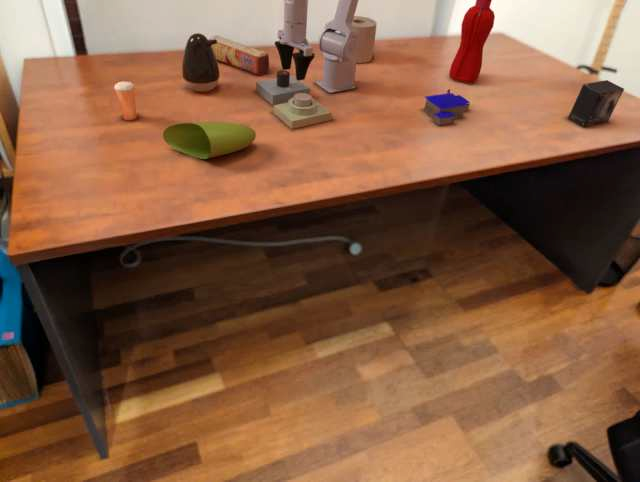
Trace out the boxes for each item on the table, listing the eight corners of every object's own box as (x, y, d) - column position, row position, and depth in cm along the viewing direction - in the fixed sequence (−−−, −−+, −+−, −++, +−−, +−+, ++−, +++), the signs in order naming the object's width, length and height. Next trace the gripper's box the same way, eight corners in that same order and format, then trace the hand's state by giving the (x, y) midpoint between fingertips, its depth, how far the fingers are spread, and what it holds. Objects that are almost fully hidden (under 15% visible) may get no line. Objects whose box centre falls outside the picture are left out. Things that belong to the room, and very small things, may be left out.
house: (480, 120, 139) (486, 101, 135) (438, 126, 134) (443, 107, 130) (457, 103, 146) (462, 84, 143) (416, 108, 141) (420, 89, 138)
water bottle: (445, 81, 158) (466, -3, 142) (451, 70, 166) (471, -11, 150) (474, 88, 156) (498, 3, 140) (479, 76, 164) (502, -5, 148)
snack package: (271, 71, 155) (271, 49, 150) (257, 77, 150) (257, 55, 146) (220, 53, 163) (219, 32, 158) (206, 59, 158) (204, 37, 154)
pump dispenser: (213, 98, 137) (209, 42, 127) (178, 92, 138) (171, 37, 128) (226, 84, 145) (223, 30, 135) (192, 79, 146) (187, 25, 136)
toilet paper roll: (339, 48, 175) (342, 14, 167) (373, 52, 174) (378, 18, 166) (335, 60, 165) (339, 24, 158) (371, 65, 165) (376, 29, 157)
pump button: (305, 98, 133) (305, 91, 131) (314, 105, 130) (315, 98, 129) (290, 102, 131) (290, 94, 129) (299, 109, 128) (299, 101, 126)
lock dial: (274, 83, 140) (274, 70, 138) (285, 81, 142) (285, 68, 140) (280, 88, 138) (280, 74, 136) (291, 86, 140) (292, 72, 137)
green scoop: (177, 133, 102) (265, 123, 111) (161, 119, 111) (243, 111, 121) (180, 169, 106) (265, 156, 115) (165, 152, 115) (244, 142, 124)
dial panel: (292, 84, 148) (292, 74, 146) (309, 98, 142) (310, 87, 140) (256, 91, 142) (256, 81, 140) (272, 105, 136) (272, 94, 134)
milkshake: (145, 114, 127) (138, 76, 121) (132, 123, 123) (125, 84, 117) (129, 110, 128) (122, 73, 122) (116, 119, 124) (108, 80, 118)
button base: (311, 105, 138) (311, 91, 136) (330, 120, 132) (331, 106, 130) (273, 112, 133) (273, 98, 130) (291, 129, 127) (292, 114, 124)
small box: (584, 128, 139) (600, 93, 133) (566, 118, 144) (581, 83, 137) (609, 122, 143) (626, 88, 137) (590, 113, 148) (606, 79, 141)
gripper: (267, 13, 125) (267, 66, 134) (296, 31, 116) (293, 86, 125) (291, 11, 128) (289, 63, 137) (321, 28, 119) (317, 82, 128)
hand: (293, 74), depth 131 cm, fingers open, 7 cm apart
